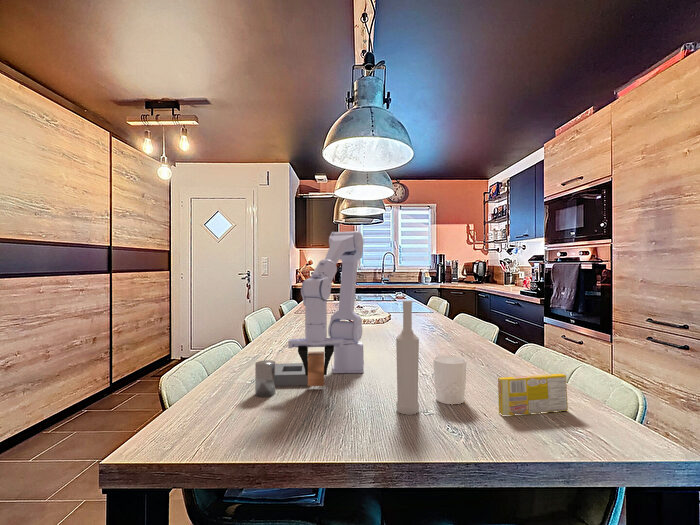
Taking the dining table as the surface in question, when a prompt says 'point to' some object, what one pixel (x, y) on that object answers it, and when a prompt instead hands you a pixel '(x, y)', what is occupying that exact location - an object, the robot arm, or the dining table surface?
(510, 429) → the dining table surface
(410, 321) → the bottle
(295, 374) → the bore block
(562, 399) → the candy box
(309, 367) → the square peg
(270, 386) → the round dowel
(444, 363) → the white cup
